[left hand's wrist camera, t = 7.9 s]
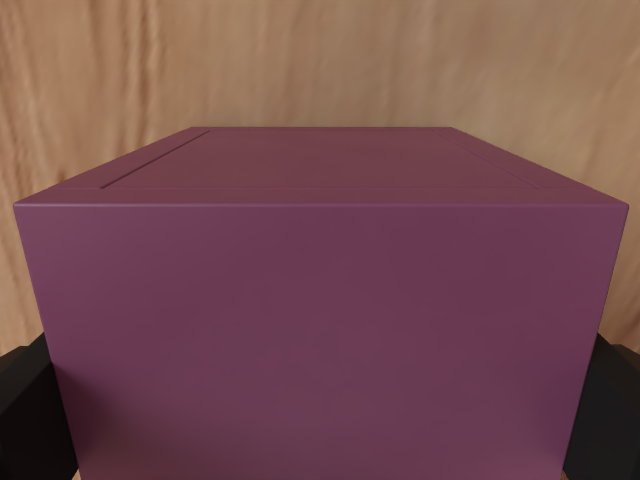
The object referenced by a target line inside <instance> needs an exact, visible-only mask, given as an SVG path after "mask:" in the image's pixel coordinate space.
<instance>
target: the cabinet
mask: <svg viewBox="0 0 640 480" xmlns="http://www.w3.org/2000/svg"><path fill="white" fill-rule="evenodd" d="M13 209H14V213H15V217H16V221H17V225H18V229H19V233H20V237H21V241H22V245H23V249H24V253H25V257H26V261H27V265H28V269H29V273H30V277H31V281H32V285H33V289H34V293H35V297H36V301H37V305H38V309H39V313H40V317H41V321H42V325H43V329H44V333H45V337H46V341H47V345H48V349H49V353H50V357H51V361H52V365H53V369H54V373H55V377H56V381H57V385H58V389H59V393H60V397H61V401H62V405H63V409H64V413H65V417H66V421H67V425H68V429H69V433H70V437H71V441H72V445H73V449H74V453H75V457H76V461H77V465H78V469H79V473H80V477H81V480H560V478H561V475H562V471H563V467H564V463H565V459H566V455H567V451H568V447H569V443H570V439H571V435H572V431H573V427H574V423H575V419H576V415H577V411H578V407H579V404H580V400H581V396H582V392H583V388H584V384H585V380H586V376H587V372H588V368H589V364H590V360H591V356H592V352H593V348H594V344H595V340H596V336H597V332H598V329H599V325H600V321H601V317H602V313H603V309H604V305H605V301H606V297H607V293H608V289H609V285H610V281H611V277H612V273H613V269H614V265H615V261H616V258H617V254H618V250H619V246H620V242H621V238H622V234H623V230H624V226H625V222H626V218H627V214H628V210H629V205H628V204H627V203H625V202H622V201H620V200H618V199H616V198H613V197H611V196H609V195H606V194H604V193H602V192H599V191H597V190H595V189H593V188H590V187H588V186H586V185H583V184H581V183H579V182H577V181H574V180H572V179H570V178H567V177H565V176H563V175H560V174H558V173H556V172H554V171H551V170H549V169H547V168H544V167H542V166H540V165H537V164H535V163H533V162H531V161H528V160H526V159H524V158H521V157H519V156H517V155H514V154H512V153H510V152H508V151H505V150H503V149H501V148H498V147H496V146H494V145H491V144H489V143H487V142H485V141H482V140H480V139H478V138H475V137H473V136H471V135H468V134H466V133H464V132H462V131H459V130H456V129H454V128H452V127H190V128H188V129H186V130H182V131H180V132H178V133H175V134H173V135H171V136H168V137H166V138H164V139H161V140H159V141H157V142H154V143H152V144H150V145H147V146H145V147H143V148H140V149H138V150H136V151H133V152H131V153H129V154H126V155H124V156H122V157H119V158H117V159H115V160H112V161H110V162H108V163H105V164H103V165H100V166H98V167H96V168H93V169H91V170H89V171H86V172H84V173H82V174H79V175H77V176H75V177H72V178H70V179H68V180H65V181H63V182H61V183H58V184H56V185H54V186H51V187H49V188H48V189H45V190H43V191H41V192H38V193H36V194H34V195H31V196H29V197H27V198H24V199H22V200H20V201H17V202H15V203H14V204H13Z"/></svg>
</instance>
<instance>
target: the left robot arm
mask: <svg viewBox="0 0 640 480" xmlns="http://www.w3.org/2000/svg"><path fill="white" fill-rule="evenodd" d="M77 470H78V465H77V461H76V457H75V453H74V449H73V445H72V441H71V437H70V433H69V429H68V425H67V421H66V417H65V413H64V409H63V405H62V401H61V397H60V393H59V389H58V385H57V381H56V377H55V373H54V369H53V365H52V361H51V357H50V353H49V349H48V345H47V341H46V337H45V333H44V332H43V333H42V334H41V335H40V336H39V337H38V338H37V339H35V340H34V341H33V342H32V343H31V344H30V345H29V346H19V347H17V348H16V349H14V350H12V351H10V352H8V353H7V354H5V355H3V356H1V357H0V480H72V478H73V477H74V475H75V473H76V472H77ZM563 471H564V472H565V474H566V476H567V477H568V479H569V480H640V355H639V354H637V353H635V352H634V351H632V350H630V349H628V348H626V347H624V346H623V345H611V344H609V343H608V342H607V341H606V340H605V339H604V338H603V337H602V336H601V335H600V334H599V333H598V332H597V336H596V340H595V344H594V348H593V352H592V356H591V360H590V364H589V368H588V372H587V376H586V380H585V384H584V388H583V392H582V396H581V400H580V404H579V407H578V411H577V415H576V419H575V423H574V427H573V431H572V435H571V439H570V443H569V447H568V451H567V455H566V459H565V463H564V467H563Z"/></svg>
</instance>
